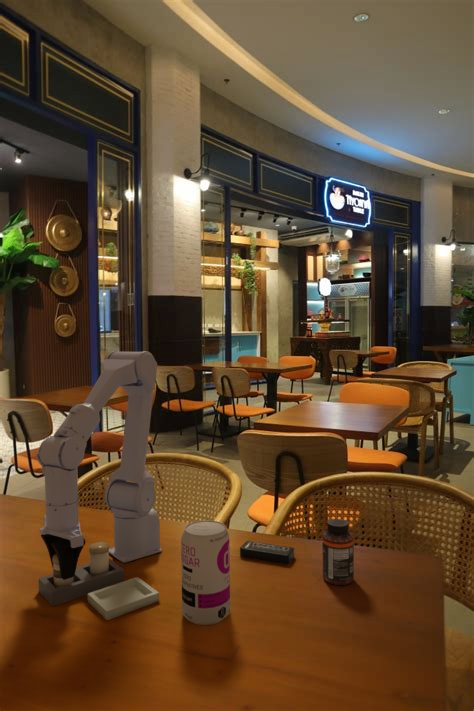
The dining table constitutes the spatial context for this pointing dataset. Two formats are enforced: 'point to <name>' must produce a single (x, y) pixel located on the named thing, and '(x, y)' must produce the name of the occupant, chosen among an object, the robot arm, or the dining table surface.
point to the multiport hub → (267, 552)
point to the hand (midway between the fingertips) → (63, 573)
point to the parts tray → (122, 598)
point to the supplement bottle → (338, 553)
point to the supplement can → (205, 572)
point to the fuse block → (80, 583)
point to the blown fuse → (59, 574)
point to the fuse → (99, 558)
